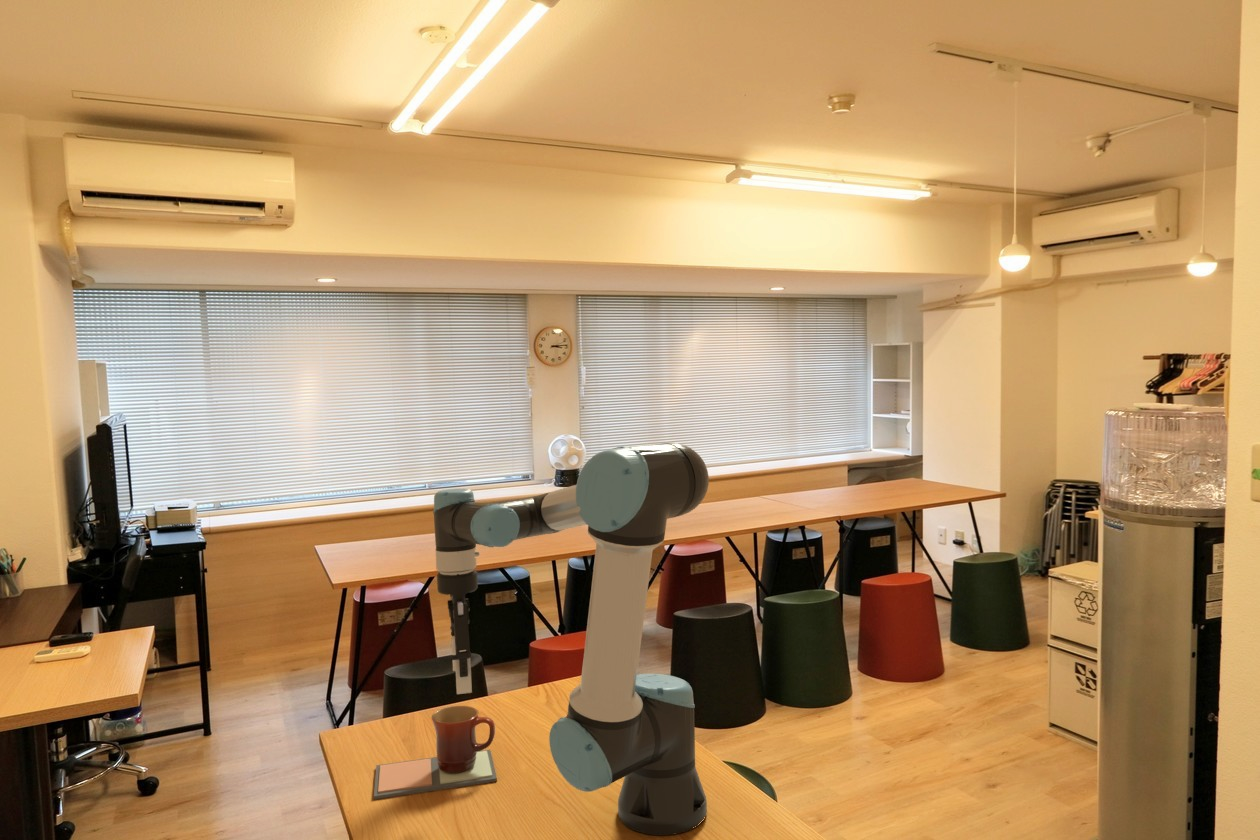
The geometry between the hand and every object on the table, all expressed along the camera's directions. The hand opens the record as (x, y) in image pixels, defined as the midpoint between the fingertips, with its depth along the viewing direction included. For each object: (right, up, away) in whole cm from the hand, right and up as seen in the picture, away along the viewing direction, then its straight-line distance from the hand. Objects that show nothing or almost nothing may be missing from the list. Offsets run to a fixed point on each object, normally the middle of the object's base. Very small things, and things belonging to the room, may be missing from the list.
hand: (462, 681), depth 161 cm
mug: (+1, -17, 0) cm, 17 cm away
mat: (-5, -18, -1) cm, 18 cm away
